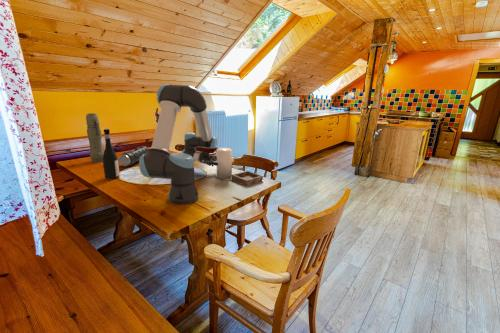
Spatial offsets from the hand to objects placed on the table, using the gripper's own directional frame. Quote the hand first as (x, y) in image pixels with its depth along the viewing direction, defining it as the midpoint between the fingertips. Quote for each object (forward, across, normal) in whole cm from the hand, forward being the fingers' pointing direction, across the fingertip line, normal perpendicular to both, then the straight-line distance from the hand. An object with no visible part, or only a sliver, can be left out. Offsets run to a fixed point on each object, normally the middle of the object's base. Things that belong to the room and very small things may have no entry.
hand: (228, 162), depth 164 cm
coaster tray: (+14, 0, -10) cm, 17 cm away
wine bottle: (-59, +40, -10) cm, 72 cm away
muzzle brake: (-75, +10, -10) cm, 76 cm away
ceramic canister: (-3, 0, -10) cm, 11 cm away
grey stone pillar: (-101, +22, -10) cm, 104 cm away
